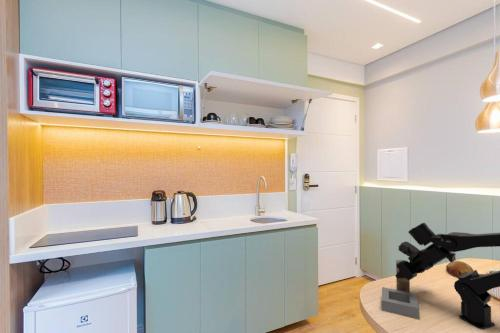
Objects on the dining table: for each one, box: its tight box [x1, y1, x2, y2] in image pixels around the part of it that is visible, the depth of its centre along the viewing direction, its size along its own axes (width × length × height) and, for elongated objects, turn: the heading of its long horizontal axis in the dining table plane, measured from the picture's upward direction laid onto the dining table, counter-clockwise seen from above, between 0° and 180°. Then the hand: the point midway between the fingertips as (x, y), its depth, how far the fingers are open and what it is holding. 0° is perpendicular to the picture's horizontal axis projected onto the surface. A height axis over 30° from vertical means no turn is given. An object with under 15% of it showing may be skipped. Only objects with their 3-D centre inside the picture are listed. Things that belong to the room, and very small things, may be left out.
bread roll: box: [445, 260, 474, 279], centre depth 115 cm, size 10×10×8 cm
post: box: [395, 259, 411, 293], centre depth 98 cm, size 5×5×12 cm
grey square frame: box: [381, 286, 420, 320], centre depth 89 cm, size 11×11×4 cm
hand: (399, 275), depth 99 cm, fingers closed on post, 4 cm apart
